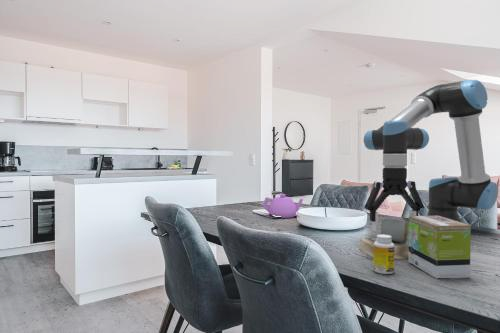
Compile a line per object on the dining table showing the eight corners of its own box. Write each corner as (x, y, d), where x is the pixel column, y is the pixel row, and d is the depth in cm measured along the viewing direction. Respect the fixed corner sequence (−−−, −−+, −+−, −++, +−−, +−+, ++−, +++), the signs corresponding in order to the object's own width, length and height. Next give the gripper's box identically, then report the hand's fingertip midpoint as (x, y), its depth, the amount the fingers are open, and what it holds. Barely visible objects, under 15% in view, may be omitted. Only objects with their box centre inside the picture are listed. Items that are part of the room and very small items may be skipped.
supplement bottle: (389, 276, 99) (390, 239, 99) (370, 271, 103) (370, 236, 102) (396, 271, 103) (397, 235, 103) (377, 267, 107) (378, 232, 107)
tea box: (406, 263, 112) (407, 215, 111) (438, 262, 112) (438, 214, 112) (435, 279, 97) (436, 224, 96) (471, 278, 97) (472, 223, 97)
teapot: (261, 218, 192) (261, 195, 191) (263, 213, 207) (263, 192, 207) (303, 219, 189) (303, 196, 189) (302, 214, 204) (303, 193, 204)
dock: (407, 248, 129) (407, 236, 129) (429, 257, 117) (429, 244, 117) (359, 250, 126) (360, 237, 126) (377, 259, 115) (377, 246, 114)
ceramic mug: (407, 244, 116) (407, 220, 116) (380, 242, 120) (380, 218, 120) (408, 238, 126) (408, 216, 126) (383, 236, 129) (383, 214, 129)
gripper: (421, 166, 127) (421, 226, 127) (354, 167, 123) (354, 229, 123) (436, 167, 119) (435, 231, 120) (364, 167, 115) (364, 234, 116)
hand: (394, 230), depth 122 cm, fingers open, 13 cm apart
